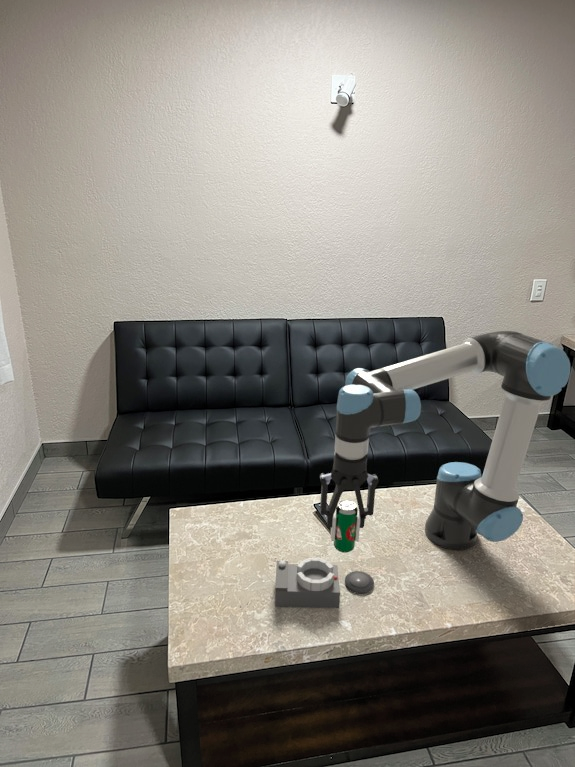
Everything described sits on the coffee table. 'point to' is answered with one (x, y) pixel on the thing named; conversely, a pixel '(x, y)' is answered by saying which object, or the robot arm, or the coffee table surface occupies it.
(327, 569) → the camera body
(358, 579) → the lens cap
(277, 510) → the coffee table surface
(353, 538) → the soda can
